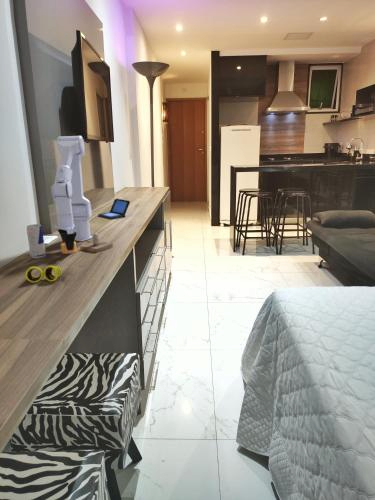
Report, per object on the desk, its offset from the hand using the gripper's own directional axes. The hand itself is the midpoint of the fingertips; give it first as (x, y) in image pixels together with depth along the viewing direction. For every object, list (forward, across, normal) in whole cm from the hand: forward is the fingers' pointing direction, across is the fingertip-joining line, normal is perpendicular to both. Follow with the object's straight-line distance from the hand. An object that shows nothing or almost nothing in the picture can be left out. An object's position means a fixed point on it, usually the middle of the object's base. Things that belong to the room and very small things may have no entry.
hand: (68, 248), depth 143 cm
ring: (+1, 0, 0) cm, 1 cm away
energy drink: (+2, 0, -12) cm, 12 cm away
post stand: (+1, +1, +11) cm, 11 cm away
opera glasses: (+2, +28, -13) cm, 31 cm away
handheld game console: (+2, -62, +38) cm, 73 cm away
